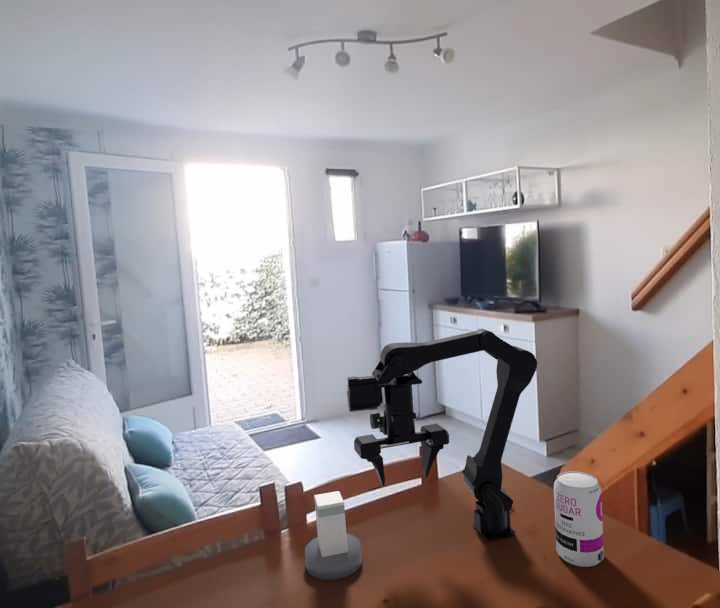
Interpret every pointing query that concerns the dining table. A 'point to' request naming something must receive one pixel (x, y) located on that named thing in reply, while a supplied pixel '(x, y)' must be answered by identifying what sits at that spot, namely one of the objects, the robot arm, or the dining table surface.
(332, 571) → the grey dome
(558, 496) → the supplement can
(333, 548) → the carton
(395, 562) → the dining table surface
